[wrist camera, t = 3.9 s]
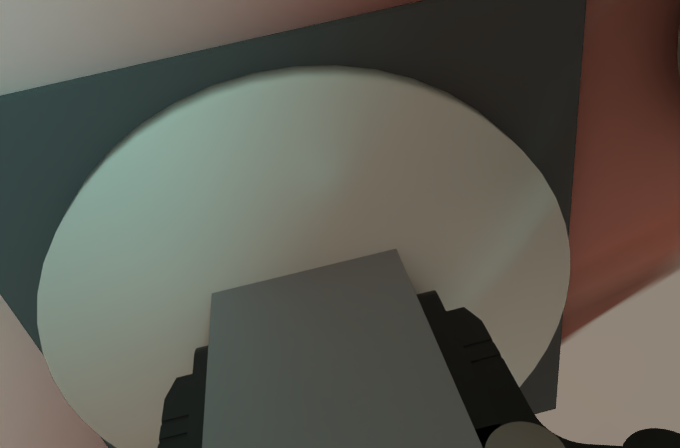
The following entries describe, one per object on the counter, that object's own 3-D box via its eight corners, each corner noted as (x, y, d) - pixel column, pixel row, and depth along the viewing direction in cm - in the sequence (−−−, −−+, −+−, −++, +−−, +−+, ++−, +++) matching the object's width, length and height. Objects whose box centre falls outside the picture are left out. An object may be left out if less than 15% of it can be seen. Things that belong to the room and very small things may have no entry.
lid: (562, 2, 10) (874, 117, 5) (541, 402, 17) (670, 622, 12) (-70, 146, 10) (-396, 424, 5) (164, 499, 16) (132, 770, 11)
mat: (577, -35, 10) (588, -32, 10) (549, 398, 17) (555, 408, 17) (-105, 119, 10) (-118, 127, 9) (155, 499, 17) (153, 512, 17)
